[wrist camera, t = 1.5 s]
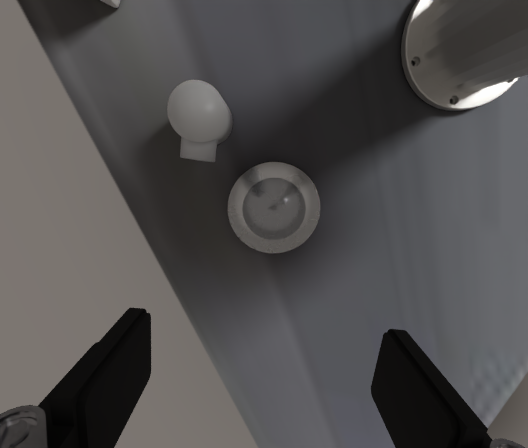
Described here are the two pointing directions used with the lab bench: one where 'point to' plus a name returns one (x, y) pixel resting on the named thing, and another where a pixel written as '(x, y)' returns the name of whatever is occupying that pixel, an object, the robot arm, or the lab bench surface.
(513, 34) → the robot arm
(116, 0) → the medicine bottle
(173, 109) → the white light bulb
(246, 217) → the shallow grey dish
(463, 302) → the lab bench surface
